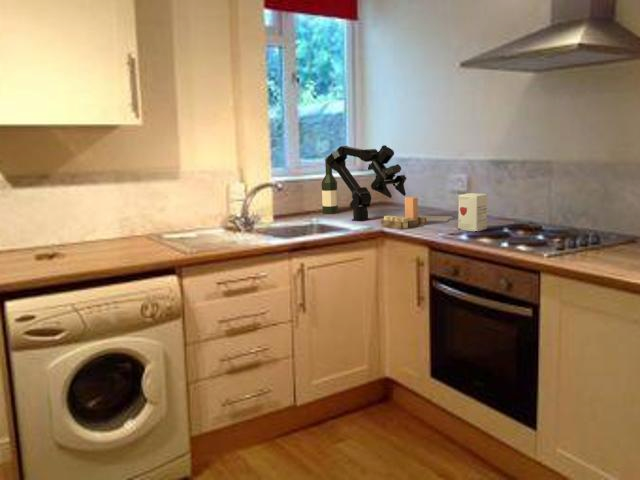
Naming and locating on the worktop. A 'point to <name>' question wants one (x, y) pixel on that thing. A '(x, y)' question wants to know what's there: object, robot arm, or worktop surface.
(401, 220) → the oak offcut
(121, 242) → the worktop surface
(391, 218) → the ash offcut
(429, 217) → the slate tile
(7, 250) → the worktop surface
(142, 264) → the worktop surface
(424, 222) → the walnut rack
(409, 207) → the orange rectangular block
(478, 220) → the supplement box
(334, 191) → the wine bottle
